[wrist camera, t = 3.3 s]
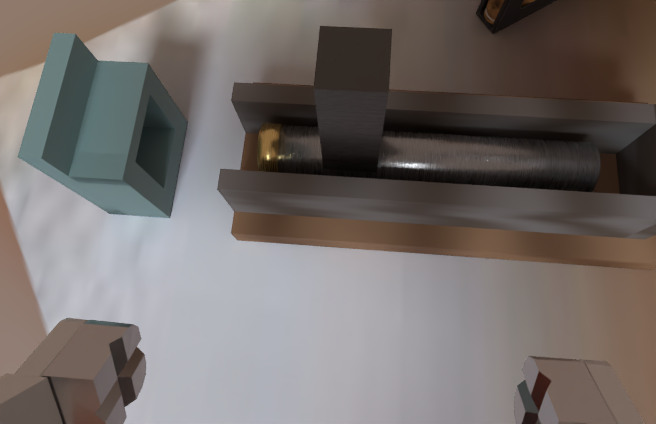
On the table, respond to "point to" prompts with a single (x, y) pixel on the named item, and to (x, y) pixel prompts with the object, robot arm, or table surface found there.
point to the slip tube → (405, 133)
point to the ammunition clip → (507, 11)
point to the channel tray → (458, 199)
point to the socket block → (105, 131)
